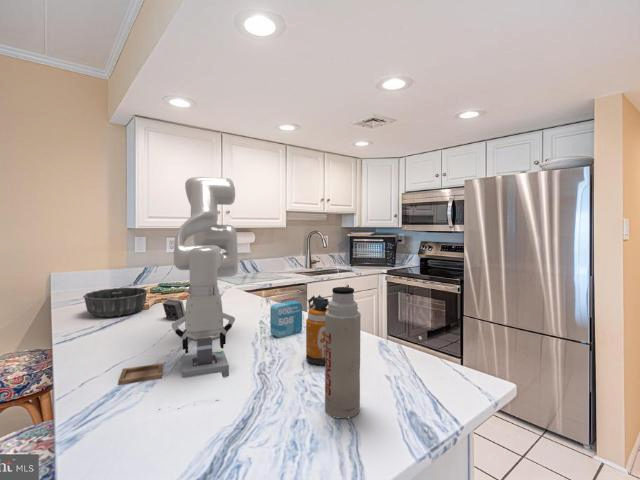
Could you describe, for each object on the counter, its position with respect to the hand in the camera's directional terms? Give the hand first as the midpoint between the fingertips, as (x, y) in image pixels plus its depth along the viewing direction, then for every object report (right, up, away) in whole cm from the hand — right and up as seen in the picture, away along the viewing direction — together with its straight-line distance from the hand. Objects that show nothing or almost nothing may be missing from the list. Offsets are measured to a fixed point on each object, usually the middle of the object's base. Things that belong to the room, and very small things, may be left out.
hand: (204, 349), depth 98 cm
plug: (0, -5, 0) cm, 5 cm away
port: (0, -6, 0) cm, 6 cm away
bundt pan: (-64, -4, +65) cm, 91 cm away
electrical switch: (-32, -4, +54) cm, 63 cm away
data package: (+20, -5, +34) cm, 40 cm away
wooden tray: (-15, -7, -6) cm, 17 cm away
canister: (+33, -6, +9) cm, 35 cm away
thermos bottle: (+39, -8, -20) cm, 44 cm away
